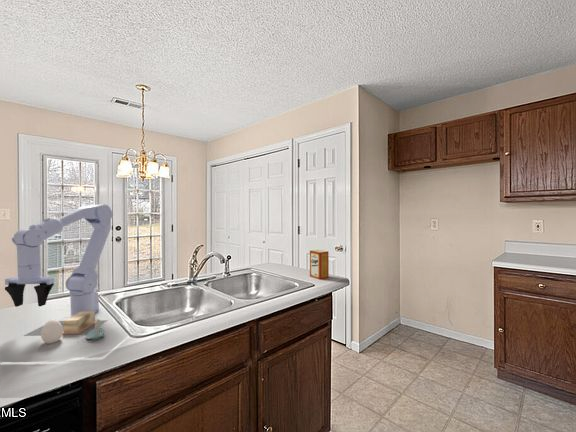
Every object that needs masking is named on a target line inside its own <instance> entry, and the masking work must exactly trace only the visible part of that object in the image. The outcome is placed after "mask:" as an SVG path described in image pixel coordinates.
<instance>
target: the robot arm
mask: <svg viewBox="0 0 576 432" xmlns="http://www.w3.org/2000/svg"><path fill="white" fill-rule="evenodd" d="M113 215H114V213H113V211H112V209H111V207H110V206H109V205H107V204H85V205H83V206H80V207H77V208H76V209H75V210H72V211H71V212H69V213H66V214H64V215H62V216H60V217H58V218H56V217H51V218H50V217H46V218H44V219H43V221H40V222H39V223H36V224H31V225H29V227H28V228H22V229H18V230H17V231H16V232H15V233H14V235H13V237H12V238H11V242H12V243H13V244H14V246H16V258H17V261H16V262H17V265H16V266H17V276H16V277H8V278H5V279H4V285H5V287H4V290H5V291H6V292H7V293H8V294H9V296H10V297H11V300H12V302H13V304H14V306H15V307H16V308H17V307H20V306H23V304H24V292H25V287H26V285H34V287H33V289H34V291H35V293H36V295H37V296H36V297H37V298H36V299H37V305H38V307H43V306H45V305H46V304H47V300H48V296H49V295H50V292H51V291H52V288H53V287H54V286H55V277H54V276H52V277H51V276H50V277H49V276H42V274H41V273H42V272H41V271H42V268H41V266H42V265H41V245H42V244H43V243H44V241H45V240H47V239H49V238H51V237H53V236H55V235H57V234H59V233H61V232H63V228H64V227H66V226H68V225H71V224H73V223H75V222H78V221H80V220H83V219H85V221H86V222H87V223H89V224H90V225H91V226H92V228H93V232H92V234H91V235H90V238H89V241H88V244H87V246H86V247H85V251H84V253H83V256H82V259H81V261H80V264H79V266H78V267H76V268H75V269H74V270H72V273H71V275H70V276H69V277H68V278H67V279H66V281H65V289H66V290H67V291H69V294H70V295H69V297H70V299H69V300H70V314H69V315H67V316H65V317H64V318H65V319H67V318H69V317H71V316H73V315H75V314H77V313H79V312H81V311H94V314H95V313H97V312H99V311H100V310H102V309H101V308H100V305H99V301H100V300H99V299H100V295H99V293H98V291H97V290H96V288H97V287H98V278H99V273H98V272H97V270H96V269H97V265H98V263H99V261H100V258H101V255H102V252H103V250H104V248H105V245H106V242H107V239H108V236H109V234H110V231H111V228H112V227H111V226H112V223H111V221H112V217H113Z"/></svg>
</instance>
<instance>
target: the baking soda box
mask: <svg viewBox="0 0 576 432" xmlns="http://www.w3.org/2000/svg"><path fill="white" fill-rule="evenodd" d="M329 262H330V261H329V251H327V250H321V249H313V250H309V277H311V278H313V279H317V280H326V279H329V274H330V273H329V268H330V267H329Z"/></svg>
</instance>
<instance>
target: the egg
mask: <svg viewBox="0 0 576 432" xmlns="http://www.w3.org/2000/svg"><path fill="white" fill-rule="evenodd" d="M59 321H60V320H57V319H50V320H48V321H47V322H45V323H44V325H42V326H43V328H42V331H41V336H40V337H41V340H42V341H43V342H44V343H45V344H48V345H49V344H50V345H51V344H55V343H57V342H59V341H60V339H61V338H62V336H63V335H62V334H63V327H62V325H61V323H60V322H59Z"/></svg>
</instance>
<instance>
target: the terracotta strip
mask: <svg viewBox="0 0 576 432" xmlns="http://www.w3.org/2000/svg"><path fill="white" fill-rule="evenodd" d="M96 321H97V320H95V322H93V323H92V324H90V325H88V326H87V327H85V328H84V329H82V330H80V331H79V332H70V333H64V331H63V334H79V333H80V332H82V331H84V330H85V329H87V328H88V327H90V326H92V325H93V324H95V323H96Z"/></svg>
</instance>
